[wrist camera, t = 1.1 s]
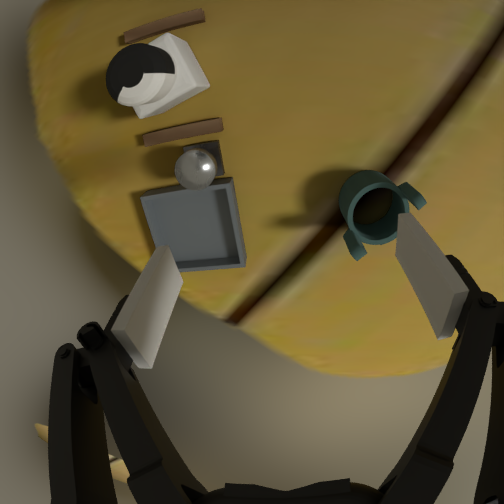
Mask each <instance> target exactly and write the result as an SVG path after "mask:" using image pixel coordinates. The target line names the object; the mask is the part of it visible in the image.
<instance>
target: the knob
mask: <svg viewBox="0 0 504 504" xmlns="http://www.w3.org/2000/svg"><path fill="white" fill-rule="evenodd" d="M183 150H184V154H183V155H181V156H180V157H179V158H178V160H177V162H176V164H175V176H176V178H177V180H178V182H179V183H180V184H181V185H182V186H183V187H185V188H187V189H189V190H195V191H197V190H202V189H204V188H206V187H208V186H209V185H210V184H211V183H212V181H213V179H214V178H215V176H221V175H224V173H225V172H224V166H223V161H222V155H221V150H220V144H219V140H216V141H210V142H204V143H198V144H193V145H188V146H184V147H183Z"/></svg>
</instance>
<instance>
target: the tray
mask: <svg viewBox="0 0 504 504" xmlns="http://www.w3.org/2000/svg"><path fill="white" fill-rule="evenodd" d="M140 199H141V202H142V206H143V209H144V212H145V216H146V219H147V222H148V225H149V228H150V231H151V235H152V238H153V241H154V244H155V247H156V248H157V247H159V246H165V245H169V248H170V250H171V253H172V255H173V258H174V260H175V263H176V265H177V268H178V270H179V272H189V271H202V270H215V269H227V268H240V267H245V266H246V259H247V256H246V251H245V245H244V239H243V234H242V228H241V223H240V217H239V211H238V206H237V200H236V194H235V188H234V183H233V177H230V178H222V179H215V180H213V181H212V183H211V184H210V185H209V186H208V187H206V188H204V189H202V190H197V191H195V190H189V189H187V188H185V187H183V186H182V185H177V186H171V187H165V188H160V189H154V190H149V191H146V192H145V193H144V194H143V195H142V196H141V197H140Z"/></svg>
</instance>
